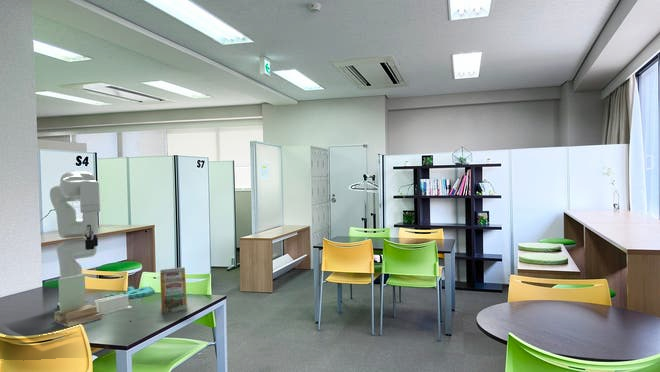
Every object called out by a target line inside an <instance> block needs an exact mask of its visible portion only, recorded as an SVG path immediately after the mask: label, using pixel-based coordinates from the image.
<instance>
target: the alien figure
mask: <svg viewBox="0 0 660 372" xmlns="http://www.w3.org/2000/svg"><path fill="white" fill-rule="evenodd" d="M155 290H156V289H154V288H153V287H152V286H142V287H139V288H137V289H136V288H135V287H134V286H128V287H127V291H125V292H119V293H112V294H105V295H104V298H107V297H111V296H116V295H120V294H124V295H128V300H131V299H136V298H142V297H149V296H151V295H153V294H156V292H155Z"/></svg>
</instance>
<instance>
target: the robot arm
mask: <svg viewBox="0 0 660 372" xmlns="http://www.w3.org/2000/svg"><path fill="white" fill-rule="evenodd" d="M59 182H60V183H59V185H56V186H53V187H51V188H50V190H49V198H50V202H51V204H52V206H53V208H54V210H55V213H56V222H57V232H58V235H59V237H60V238H61V239H73V240H67V241H62V242H60V243H59V244H58V245H57V247H56V253H57V258H58V264H59V275H60V276H59V279H61V278H66V277H72V276H77V275H83V268H82V265H81V264H80V263H79V262H78V261H76V260H80V259H86V258H87V259H88V258H92V257H94V256H95V255H96V254H97V248H98V245H99V241H98V240H99V238H98V233H99V217H98V213H99V212H101V205H100V202H101V200H100V198H101V197H100V182H99V181H97V180H95V176H94V174H92V173H91V172H89V171H70V172H69V171H68V172H65V173H64V174H62V175H61V177H60V181H59ZM69 202H80V203H79V205H80V206H79V207H80V210H79V211H80V213H82V218H77V213H76V211H77V210H76V209H75V208H74V206H73V205H72V204H71V203H69ZM76 238H82V239H76ZM83 238H84V239H83ZM74 239H75V240H74ZM87 299H88V298H86V302H87ZM57 306H59V307H60V304H59V301H58V302H57Z"/></svg>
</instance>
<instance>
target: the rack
mask: <svg viewBox="0 0 660 372" xmlns="http://www.w3.org/2000/svg"><path fill="white" fill-rule="evenodd" d="M53 313H54V315H53V316H54V322H55V323H57V324H60V325H62V326H65V327H67V328H70V327H71V326H72V327H75V326H78V325H77V324H79V325H83V324H86V323H90V322H93V321H97V320H101V319H103V316H102V315H103V314H101V313H97V314H96V315H92V316H88V317H84V318H80V319H76V320H73V321H69V322H68V325H67V324H64V323H63V312H62V313H60V310H57V311H54V312H53ZM72 327H71V328H72Z"/></svg>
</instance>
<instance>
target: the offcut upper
mask: <svg viewBox="0 0 660 372" xmlns="http://www.w3.org/2000/svg"><path fill="white" fill-rule="evenodd" d="M96 312H97V307H96V306H95V305H92V304H86V306H82V307H78V308H74V309H70V310H65V311H63V317H64V318H66V319H72V318H76V317H80V316H84V315H88V314H92V313H96ZM97 313H98V312H97Z"/></svg>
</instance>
